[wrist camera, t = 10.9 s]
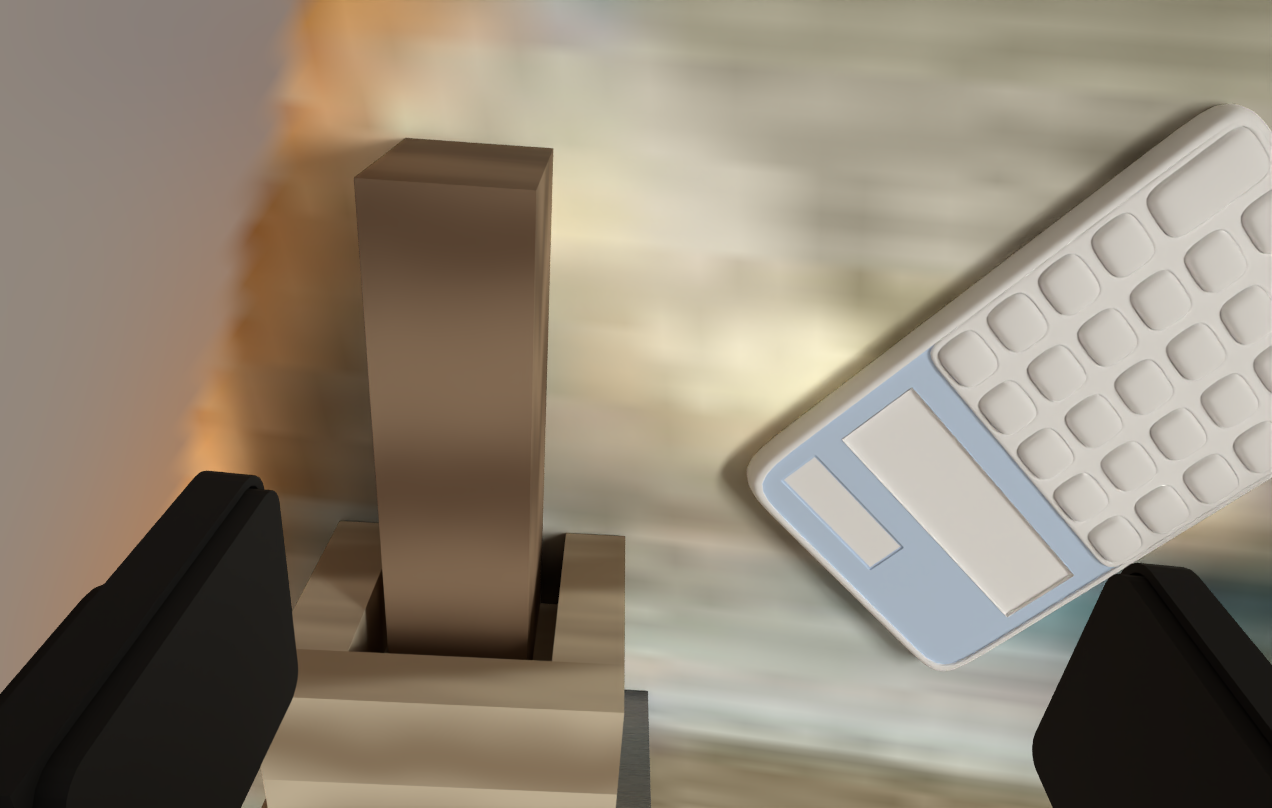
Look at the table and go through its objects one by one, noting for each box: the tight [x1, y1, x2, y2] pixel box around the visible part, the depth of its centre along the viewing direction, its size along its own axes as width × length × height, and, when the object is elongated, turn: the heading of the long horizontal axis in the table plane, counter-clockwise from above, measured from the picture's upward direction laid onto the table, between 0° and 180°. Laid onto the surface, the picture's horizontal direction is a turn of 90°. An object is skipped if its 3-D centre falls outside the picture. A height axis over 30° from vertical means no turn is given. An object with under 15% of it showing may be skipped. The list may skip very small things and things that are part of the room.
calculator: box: [747, 104, 1272, 671], centre depth 32 cm, size 13×20×2 cm, turn 133°
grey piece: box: [262, 690, 651, 808], centre depth 35 cm, size 5×14×8 cm, turn 86°
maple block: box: [261, 521, 625, 808], centre depth 31 cm, size 8×11×9 cm
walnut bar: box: [354, 138, 553, 660], centre depth 29 cm, size 18×5×6 cm, turn 176°
